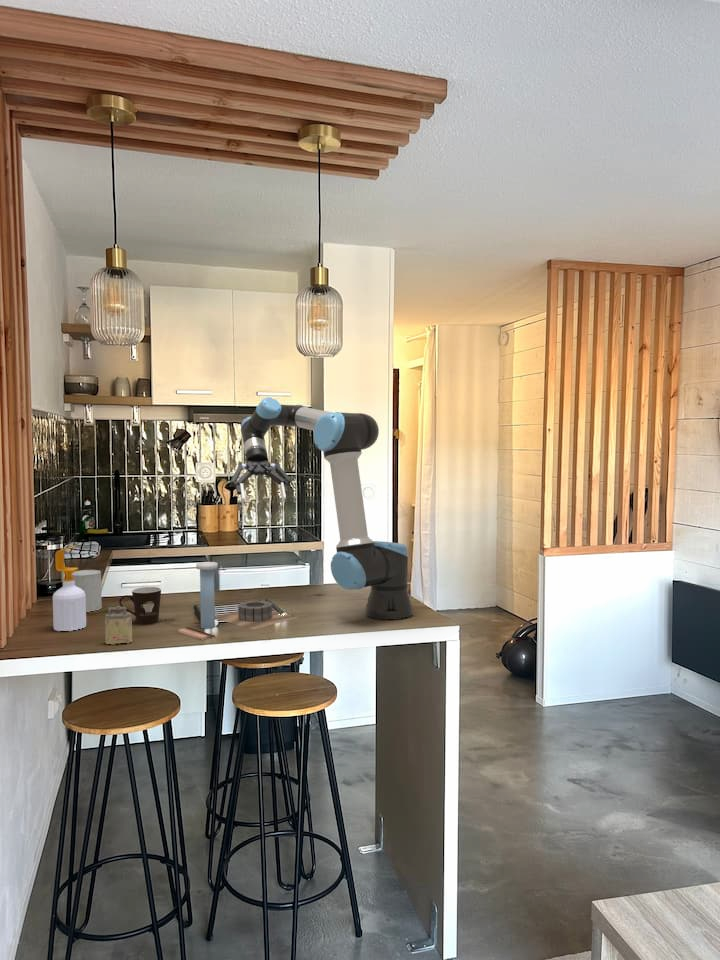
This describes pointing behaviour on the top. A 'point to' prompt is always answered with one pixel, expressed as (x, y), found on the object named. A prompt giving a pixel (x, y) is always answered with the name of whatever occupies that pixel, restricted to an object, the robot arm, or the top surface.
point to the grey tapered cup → (90, 587)
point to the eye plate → (255, 624)
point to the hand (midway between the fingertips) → (263, 500)
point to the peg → (207, 593)
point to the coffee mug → (145, 604)
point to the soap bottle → (68, 600)
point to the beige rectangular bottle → (118, 626)
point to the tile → (195, 633)
